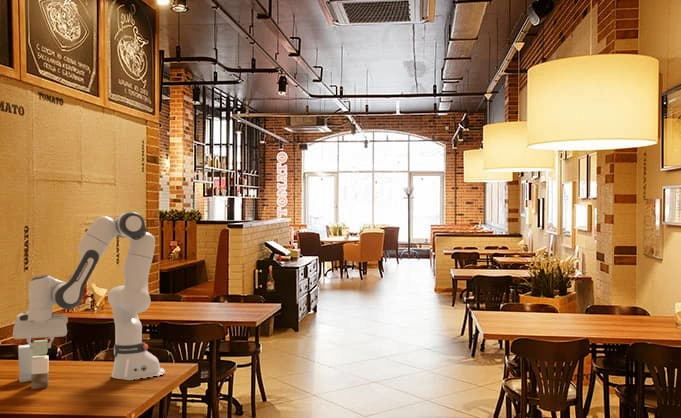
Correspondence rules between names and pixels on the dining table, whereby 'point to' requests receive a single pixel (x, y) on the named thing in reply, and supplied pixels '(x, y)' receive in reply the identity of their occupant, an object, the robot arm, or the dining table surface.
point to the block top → (40, 364)
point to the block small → (40, 347)
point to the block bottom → (39, 381)
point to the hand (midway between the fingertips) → (40, 348)
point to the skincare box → (25, 362)
